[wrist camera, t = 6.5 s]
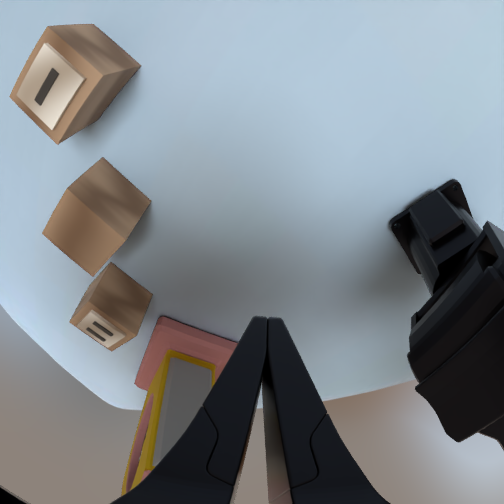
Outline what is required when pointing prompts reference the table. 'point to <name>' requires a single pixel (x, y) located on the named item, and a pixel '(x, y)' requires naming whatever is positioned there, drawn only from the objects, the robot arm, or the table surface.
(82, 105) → the numbered block
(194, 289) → the table surface
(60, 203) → the plain block
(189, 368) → the pink yellow upright block
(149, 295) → the numbered block
